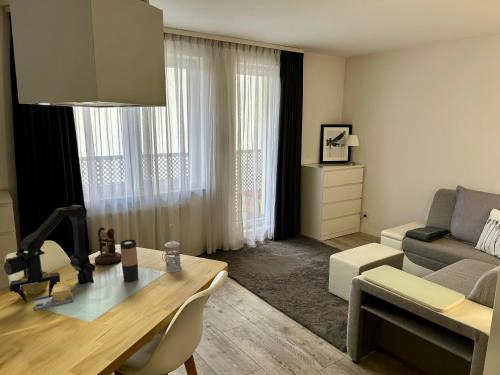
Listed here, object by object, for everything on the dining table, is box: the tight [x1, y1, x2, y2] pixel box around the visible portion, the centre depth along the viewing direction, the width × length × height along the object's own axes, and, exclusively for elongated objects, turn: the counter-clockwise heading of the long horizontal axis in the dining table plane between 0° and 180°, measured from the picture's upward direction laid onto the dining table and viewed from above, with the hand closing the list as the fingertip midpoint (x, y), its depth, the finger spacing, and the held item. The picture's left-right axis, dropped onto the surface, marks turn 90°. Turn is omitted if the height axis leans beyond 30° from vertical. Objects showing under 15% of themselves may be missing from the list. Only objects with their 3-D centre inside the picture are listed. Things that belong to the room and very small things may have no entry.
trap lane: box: [34, 289, 75, 311], centre depth 156 cm, size 15×11×1 cm
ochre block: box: [52, 284, 72, 300], centre depth 158 cm, size 7×5×4 cm
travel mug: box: [119, 239, 139, 283], centre depth 176 cm, size 8×8×20 cm
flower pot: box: [18, 271, 50, 296], centre depth 163 cm, size 9×9×9 cm
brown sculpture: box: [94, 227, 121, 266], centre depth 200 cm, size 15×15×20 cm
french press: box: [161, 224, 183, 273], centre depth 187 cm, size 10×12×25 cm
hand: (38, 299), depth 154 cm, fingers open, 9 cm apart
